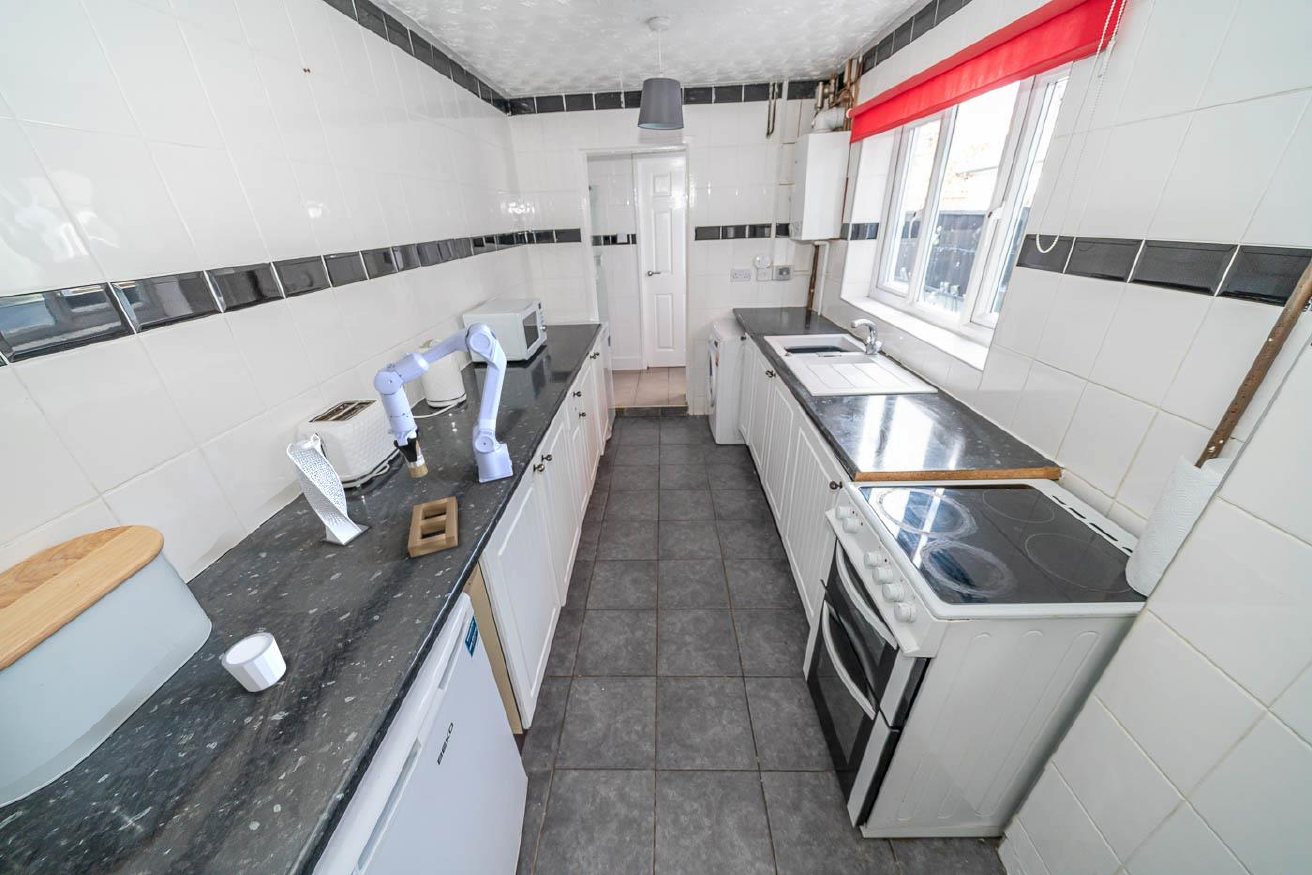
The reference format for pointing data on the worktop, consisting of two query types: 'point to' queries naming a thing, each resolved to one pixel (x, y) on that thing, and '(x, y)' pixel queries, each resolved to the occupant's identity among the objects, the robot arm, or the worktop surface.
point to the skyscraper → (323, 490)
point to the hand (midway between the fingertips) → (414, 457)
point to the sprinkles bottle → (417, 462)
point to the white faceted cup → (255, 661)
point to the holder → (433, 527)
